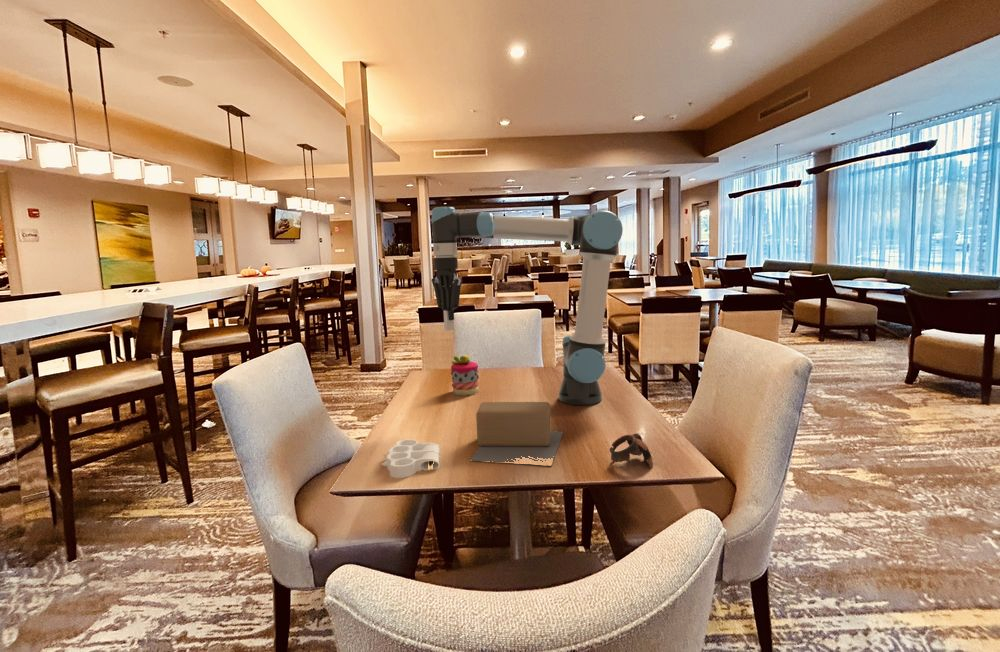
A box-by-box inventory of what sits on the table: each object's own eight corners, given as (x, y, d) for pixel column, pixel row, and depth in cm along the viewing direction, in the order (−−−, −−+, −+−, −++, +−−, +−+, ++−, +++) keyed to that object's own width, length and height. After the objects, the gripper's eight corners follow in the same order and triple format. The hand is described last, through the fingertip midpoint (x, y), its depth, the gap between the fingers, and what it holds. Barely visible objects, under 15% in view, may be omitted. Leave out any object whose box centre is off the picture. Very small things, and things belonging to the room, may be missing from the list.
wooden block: (482, 434, 148) (550, 434, 146) (477, 447, 139) (550, 447, 136) (480, 401, 147) (549, 400, 145) (475, 411, 137) (549, 411, 135)
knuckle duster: (438, 476, 123) (377, 481, 122) (440, 448, 141) (386, 452, 139) (438, 463, 123) (376, 468, 121) (439, 437, 140) (386, 440, 139)
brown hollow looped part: (654, 476, 119) (637, 448, 118) (619, 486, 124) (602, 459, 123) (659, 445, 130) (643, 420, 128) (626, 455, 134) (610, 431, 133)
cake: (453, 388, 200) (452, 351, 198) (480, 388, 200) (478, 350, 198) (450, 396, 190) (448, 357, 188) (478, 395, 190) (476, 356, 187)
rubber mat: (563, 432, 148) (563, 431, 148) (551, 466, 125) (551, 465, 125) (493, 429, 153) (493, 427, 153) (470, 461, 130) (470, 459, 130)
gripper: (423, 257, 163) (427, 329, 167) (449, 256, 154) (453, 333, 158) (441, 256, 169) (445, 326, 172) (468, 256, 160) (471, 330, 163)
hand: (449, 329), depth 165 cm, fingers closed
